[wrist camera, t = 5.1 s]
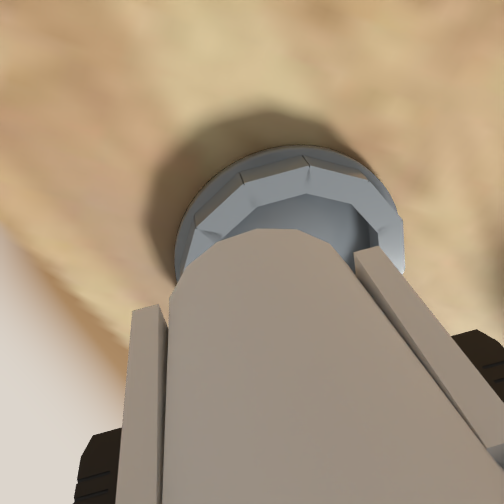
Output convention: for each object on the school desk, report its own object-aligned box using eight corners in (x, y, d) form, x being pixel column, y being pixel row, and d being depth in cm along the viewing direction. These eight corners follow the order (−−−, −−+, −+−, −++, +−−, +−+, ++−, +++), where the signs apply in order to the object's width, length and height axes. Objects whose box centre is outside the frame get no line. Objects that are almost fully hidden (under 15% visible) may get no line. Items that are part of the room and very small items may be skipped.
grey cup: (375, 195, 13) (795, 623, 4) (365, 370, 16) (589, 800, 8) (129, 233, 12) (65, 827, 4) (172, 408, 16) (191, 923, 7)
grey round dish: (141, 183, 26) (139, 201, 24) (388, 116, 26) (408, 129, 24) (208, 361, 33) (211, 387, 31) (399, 307, 33) (415, 330, 31)
